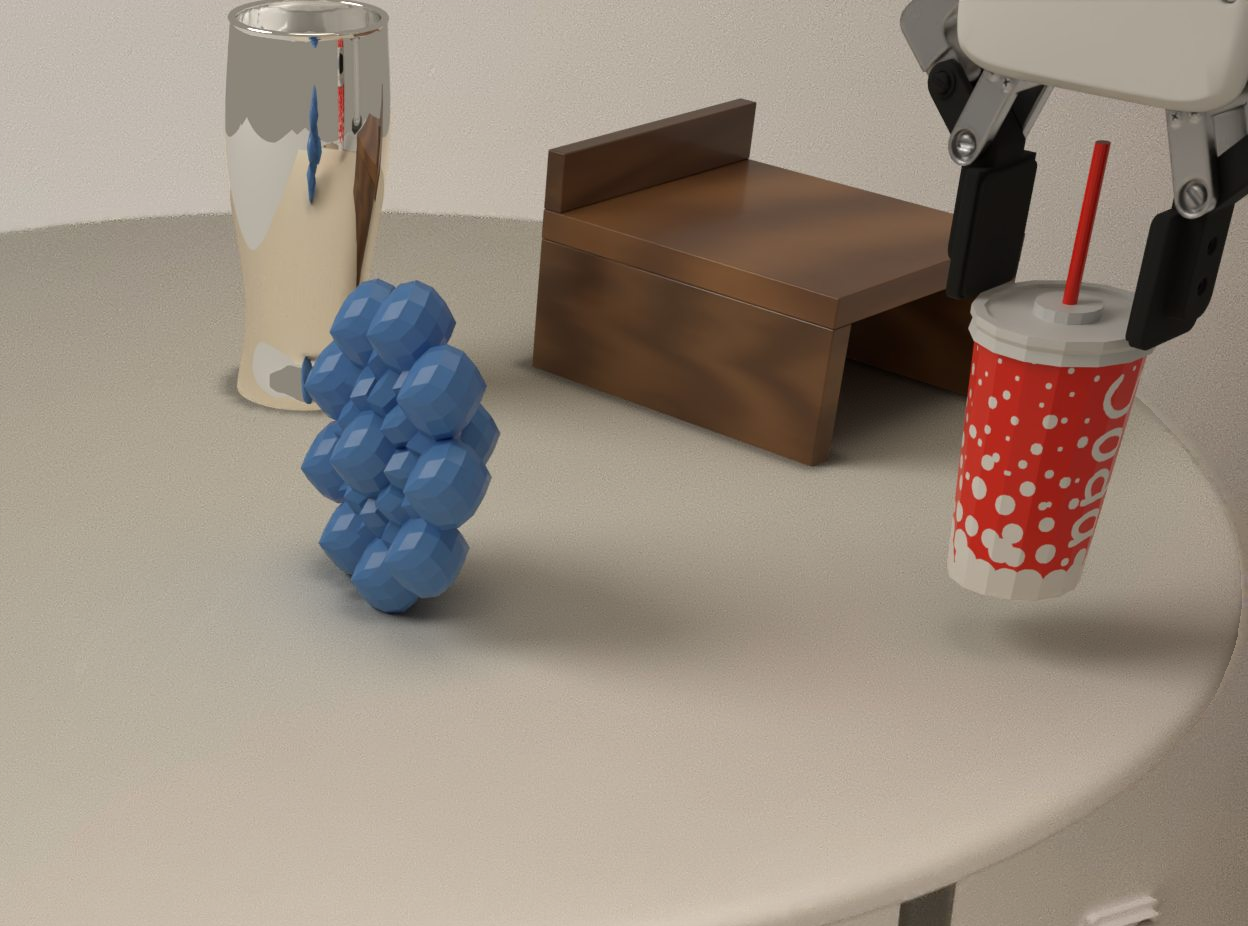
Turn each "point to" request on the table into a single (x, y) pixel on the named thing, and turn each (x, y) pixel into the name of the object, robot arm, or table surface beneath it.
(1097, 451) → the beverage cup
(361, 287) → the grapes
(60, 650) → the table surface
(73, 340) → the table surface
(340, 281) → the beer glass
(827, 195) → the shelf
